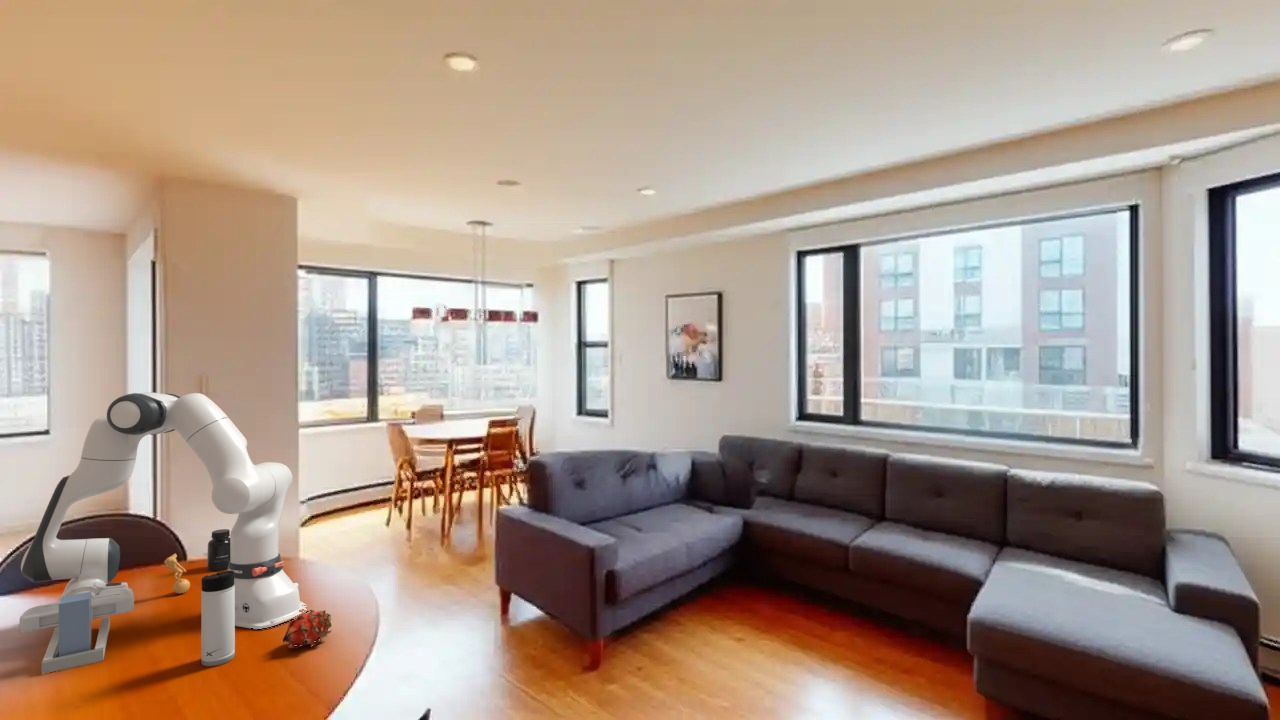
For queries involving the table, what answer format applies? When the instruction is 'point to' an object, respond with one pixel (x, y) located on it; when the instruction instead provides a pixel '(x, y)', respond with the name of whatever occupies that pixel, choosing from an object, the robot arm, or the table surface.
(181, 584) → the figurine
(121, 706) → the table surface
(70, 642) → the block
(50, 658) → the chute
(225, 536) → the supplement bottle
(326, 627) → the dragon fruit
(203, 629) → the travel mug
